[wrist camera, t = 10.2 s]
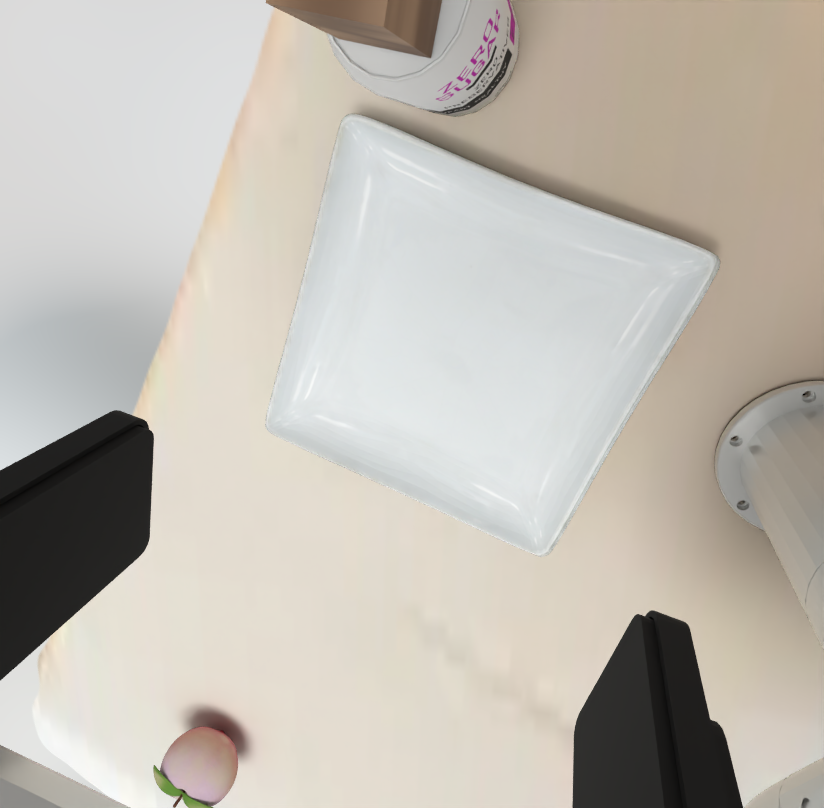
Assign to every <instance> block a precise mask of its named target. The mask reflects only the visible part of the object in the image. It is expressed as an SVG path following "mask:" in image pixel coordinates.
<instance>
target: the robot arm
mask: <svg viewBox="0 0 824 808" xmlns="http://www.w3.org/2000/svg"><path fill="white" fill-rule="evenodd" d="M807 391H809V392H808V394H807V395H803V394H804V393H805V392H807ZM734 436H737V437H736V438H735V439H731V438H732V437H734ZM153 445H154V436H153V433H152V431H150V430H149V427H148V424H147V422H146V421H145V420H143V419H140V418H138V417H135V416H132V415H130V414H127V413H124V412H122V411H117V410H116V411H112V412H109V413H108V414H106V415H104V416H102V417H100V418H98V419H96V420H94V421H93V422H91V423H89V424H87V425H85V426H83V427H81V428H80V429H78V430H76V431H74V432H72V433H70V434H68V435H66V436H64V437H63V438H61V439H59V440H57V441H55V442H53V443H51V444H49V445H47V446H46V447H44V448H42V449H40V450H38V451H36V452H34V453H32V454H30V455H29V456H27V457H25V458H23V459H21V460H19V461H18V462H15V463H14V464H12V465H10V466H8V467H6V468H4V469H2V470H0V680H1V679H3V678H4V677H5V676H6V675H7V674H8V673H9V672H10V671H11V670H12V669H14V668H15V667H16V666H17V665H18V664H19V663H21V662H22V661H23V660H24V659H25V658H26V657H27V656H28V655H29V654H31V653H32V652H33V651H34V650H35V649H36V648H37V647H38V646H40V645H41V644H42V643H43V642H44V641H45V640H46V639H47V638H49V637H50V636H51V635H52V634H53V633H54V632H55V631H56V630H58V629H59V628H60V627H61V626H62V625H63V624H64V623H65V622H67V621H68V620H69V619H70V618H71V617H72V616H73V615H74V614H76V613H77V612H78V611H79V610H80V609H81V608H82V607H83V606H85V605H86V604H87V603H88V602H89V601H90V600H91V599H92V598H93V597H95V596H96V595H97V594H98V593H99V592H100V591H101V590H102V589H104V588H105V587H106V586H107V585H108V584H109V583H110V582H111V581H113V580H114V579H115V578H116V577H117V576H118V575H119V574H120V573H122V572H123V571H124V570H125V569H126V568H127V567H128V566H129V565H131V564H132V563H133V562H134V561H135V560H136V559H137V558H138V557H139V556H140V555H141V554H142V553H143V552H144V550H145V549H146V547H147V545H148V542H149V537H150V515H151V491H152V468H153ZM714 465H715V474H716V479H717V482H718V484H719V487H720V490H721V492H722V494H723V496H724V498H725V500H726V502H727V503H728V504H729V505H730V507H731V508H732V509H733V510H734V511H735V512H736V513H737V514H738V515H739V516H741V517H742V518H743V519H744V520H746V521H747V522H748V523H750V524H752V525H754V526H756V527H757V528H759V529H761V530H764V531H765V532H766V534H767V536H768V538H769V540H770V542H771V544H772V546H773V548H774V550H775V552H776V554H777V556H778V558H779V560H780V562H781V564H782V567H783V569H784V571H785V573H786V575H787V577H788V579H789V581H790V583H791V585H792V587H793V589H794V591H795V593H796V595H797V597H798V599H799V601H800V603H801V605H802V608H803V610H804V612H805V614H806V616H807V618H808V620H809V622H810V624H811V626H812V628H813V630H814V632H815V634H816V636H817V638H818V640H819V642H820V644H821V646H822V648H823V649H824V381H807V382H802V383H796V384H791V385H787V386H784V387H782V388H779V389H776V390H773V391H770V392H768V393H767V394H765V395H763V396H761V397H759V398H757V399H755V400H754V401H752V402H751V403H750V404H748V405H747V406H746V407H745V408H743V409H742V410H741V411H740V412H739V413H738V414H737V415H736V416H735V417H734V418H733V419H732V420H731V421H730V422H729V424H728V425H727V427H726V429H725V430H724V432H723V434H722V435H721V437H720V440H719V443H718V446H717V448H716V454H715V462H714ZM742 500H743V501H742ZM739 501H741V502H739ZM0 808H130V807H128V806H126V805H124V804H121V803H119V802H117V801H115V800H113V799H111V798H109V797H107V796H105V795H103V794H101V793H99V792H97V791H95V790H93V789H90V788H88V787H86V786H84V785H82V784H80V783H78V782H76V781H74V780H72V779H70V778H68V777H66V776H64V775H62V774H60V773H57V772H55V771H53V770H51V769H49V768H47V767H45V766H43V765H41V764H39V763H37V762H34V761H32V760H30V759H28V758H26V757H24V756H22V755H20V754H18V753H16V752H14V751H12V750H9V749H7V748H5V747H3V746H1V745H0ZM573 808H743V806H742V802H741V798H740V794H739V790H738V785H737V781H736V777H735V773H734V769H733V765H732V761H731V757H730V753H729V749H728V745H727V740H726V737H725V735H724V732H723V729H722V728H721V726H720V725H719V724H718V723H717V722H715V721H712V720H710V717H709V712H708V708H707V704H706V699H705V695H704V690H703V686H702V681H701V677H700V672H699V668H698V663H697V659H696V655H695V650H694V646H693V641H692V637H691V632H690V629H689V626H688V624H687V623H685V622H683V621H680V620H678V619H675V618H672V617H670V616H667V615H664V614H662V613H659V612H656V611H650V612H648V613H647V615H646V616H642V615H639V614H637V615H635V616H634V618H633V619H632V621H631V623H630V624H629V626H628V628H627V630H626V631H625V633H624V635H623V637H622V639H621V640H620V642H619V644H618V646H617V647H616V649H615V651H614V653H613V655H612V656H611V658H610V660H609V662H608V663H607V665H606V667H605V669H604V670H603V672H602V674H601V676H600V678H599V679H598V681H597V683H596V685H595V686H594V688H593V690H592V692H591V694H590V695H589V697H588V699H587V701H586V702H585V704H584V706H583V708H582V710H581V711H580V713H579V715H578V718H577V721H576V725H575V731H574V764H573ZM745 808H824V758H822V759H820V760H818V761H816V762H814V763H812V764H810V765H808V766H806V767H805V768H803V769H801V770H799V771H797V772H795V773H793V774H791V775H790V776H789V777H787V778H785V779H783V780H781V781H779V782H777V783H776V784H774V785H772V786H771V787H769V788H767V789H766V790H764V791H763V792H761V793H760V794H758V795H757V796H756V797H754V798H753V799H752V800H751V801H750V802H749V803H748V804H747V805H746V806H745Z"/></svg>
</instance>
